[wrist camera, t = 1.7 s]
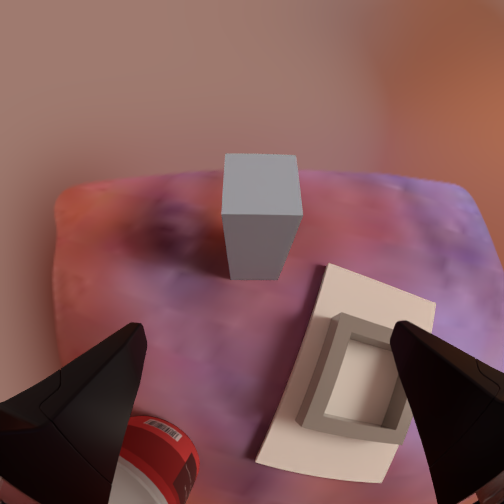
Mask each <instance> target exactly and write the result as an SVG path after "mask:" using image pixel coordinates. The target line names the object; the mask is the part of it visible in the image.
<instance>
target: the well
mask: <svg viewBox="0 0 504 504" xmlns="http://www.w3.org/2000/svg"><path fill="white" fill-rule="evenodd" d="M435 307H436V303H434V302H431V301H428V300H426V299H423V298H421V297H418V296H415V295H413V294H410V293H408V292H405V291H402V290H400V289H397V288H395V287H392V286H389V285H387V284H384V283H381V282H379V281H376V280H373V279H371V278H368V277H365V276H363V275H360V274H357V273H355V272H352V271H349V270H347V269H344V268H341V267H339V266H336V265H333V264H330V263H328V264H327V266H326V268H325V272H324V275H323V279H322V282H321V286H320V289H319V292H318V295H317V299H316V302H315V305H314V308H313V311H312V314H311V317H310V320H309V324H308V327H307V329H306V332H305V335H304V338H303V341H302V344H301V347H300V350H299V353H298V355H297V358H296V361H295V364H294V366H293V369H292V372H291V374H290V377H289V380H288V382H287V385H286V387H285V390H284V393H283V395H282V398H281V400H280V403H279V405H278V408H277V410H276V412H275V415H274V417H273V420H272V422H271V424H270V427H269V429H268V431H267V434H266V436H265V438H264V440H263V443H262V445H261V447H260V449H259V451H258V454H257V456H256V458H255V462H256V463H259V464H263V465H267V466H271V467H274V468H279V469H283V470H287V471H292V472H296V473H301V474H306V475H312V476H318V477H324V478H331V479H338V480H347V481H357V482H371V483H382V481H383V479H384V477H385V475H386V473H387V471H388V468H389V466H390V464H391V462H392V460H393V457H394V455H395V453H396V450H397V448H398V446H399V445H402V444H403V441H404V439H405V436H406V434H407V431H408V428H409V426H410V423H411V420H412V417H413V414H412V411H411V408H410V405H409V403H408V400H407V397H406V394H405V392H404V389H403V386H402V384H401V381H400V378H399V375H398V371H397V368H396V364H395V360H394V357H393V353H392V350H391V346H390V337H391V334H392V332H393V329H394V326H395V323H396V322H397V321H402V320H407V321H409V322H411V323H413V324H415V325H416V326H418V327H420V328H422V329H424V330H426V331H427V332H429V333H431V332H432V327H433V320H434V314H435Z"/></svg>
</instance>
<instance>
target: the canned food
mask: <svg viewBox="0 0 504 504" xmlns="http://www.w3.org/2000/svg"><path fill="white" fill-rule="evenodd" d="M199 464H200V462H199V456H198V453H197V451H196V448H195V446H194V444H193V443H192V441H191V440H190V438H189V437H188V436H187V435H186V434H185V433H184V432H183V431H182V430H180V429H179V428H178V427H176V426H175V425H173V424H171V423H169V422H167V421H164V420H162V419H159V418H154V417H150V416H135V417H130V418H129V421H128V425H127V429H126V432H125V436H124V439H123V443H122V447H121V451H120V455H119V458H118V462H117V467H116V471H115V475H114V479H113V483H112V484H111V485H112V489H111V493H110V498H109V503H108V504H185V503H186V501H187V498H188V496H189V494H190V491H191V489H192V487H193V484H194V482H195V480H196V477H197V475H198V472H199Z"/></svg>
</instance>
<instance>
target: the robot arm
mask: <svg viewBox="0 0 504 504" xmlns="http://www.w3.org/2000/svg"><path fill="white" fill-rule="evenodd" d="M390 346H391V350H392V353H393V357H394V360H395V364H396V368H397V371H398V375H399V378H400V381H401V384H402V386H403V389H404V392H405V394H406V397H407V400H408V403H409V405H410V408H411V411H412V414H413V417H414V420H415V423H416V426H417V429H418V432H419V435H420V438H421V442H422V445H423V448H424V452H425V455H426V459H427V462H428V466H429V470H430V474H431V478H432V482H433V486H434V490H435V494H436V499H437V503H438V504H458V503H460V502H461V501H463V500H465V499H466V498H468V497H470V496H471V495H473V494H474V493H476V495H477V498H478V501H476V502H475V503H473V504H504V373H503V372H500V371H498V370H496V369H494V368H492V367H490V366H489V365H487V364H485V363H483V362H481V361H480V360H478V359H475V358H474V357H472V356H471V355H469V354H467V353H465V352H463V351H462V350H460V349H458V348H456V347H454V346H453V345H451V344H449V343H447V342H445V341H444V340H442V339H440V338H438V337H436V336H435V335H433V334H431V333H429V332H427V331H426V330H424V329H422V328H420V327H418V326H416V325H415V324H413V323H411V322H409V321H407V320H402V321H397V322H396V323H395V326H394V329H393V332H392V334H391V337H390ZM146 350H147V340H146V336H145V332H144V328H143V325H142V324H141V323H134V322H131V323H129V324H127V325H126V326H124V327H123V328H121V329H120V330H118V331H117V332H115V333H114V334H112V335H111V336H109V337H108V338H106V339H105V340H103V341H102V342H100V343H99V344H97V345H96V346H94V347H93V348H91V349H90V350H88V351H87V352H85V353H84V354H82V355H81V356H79V357H78V358H76V359H75V360H73V361H72V362H70V363H69V364H67V365H66V366H64V367H63V368H61V370H58V371H56V372H55V373H54V374H52V375H51V376H49V377H47V378H46V379H44V380H43V381H41V382H39V383H38V384H36V385H34V386H32V387H30V388H29V389H27V390H25V391H23V392H21V393H19V394H17V395H16V396H14V397H12V398H10V399H8V400H6V401H4V402H1V403H0V504H108V503H109V498H110V493H111V489H112V485H111V484H112V483H113V479H114V475H115V471H116V467H117V462H118V458H119V455H120V451H121V447H122V443H123V439H124V436H125V432H126V429H127V425H128V421H129V418H130V415H131V411H132V408H133V404H134V401H135V398H136V395H137V391H138V388H139V385H140V380H141V375H142V370H143V365H144V360H145V355H146Z"/></svg>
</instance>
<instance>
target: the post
mask: <svg viewBox="0 0 504 504" xmlns="http://www.w3.org/2000/svg"><path fill="white" fill-rule="evenodd" d="M302 217H303V211H302V202H301V193H300V184H299V176H298V168H297V160H296V156H295V155H278V154H277V155H275V154H226V155H225V166H224V181H223V197H222V222H223V229H224V236H225V243H226V250H227V257H228V264H229V271H230V278H231V280H278V278H279V276H280V273H281V271H282V268H283V266H284V263H285V261H286V258H287V256H288V253H289V251H290V248H291V245H292V243H293V240H294V238H295V235H296V232H297V230H298V227H299V225H300V222H301V219H302Z"/></svg>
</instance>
